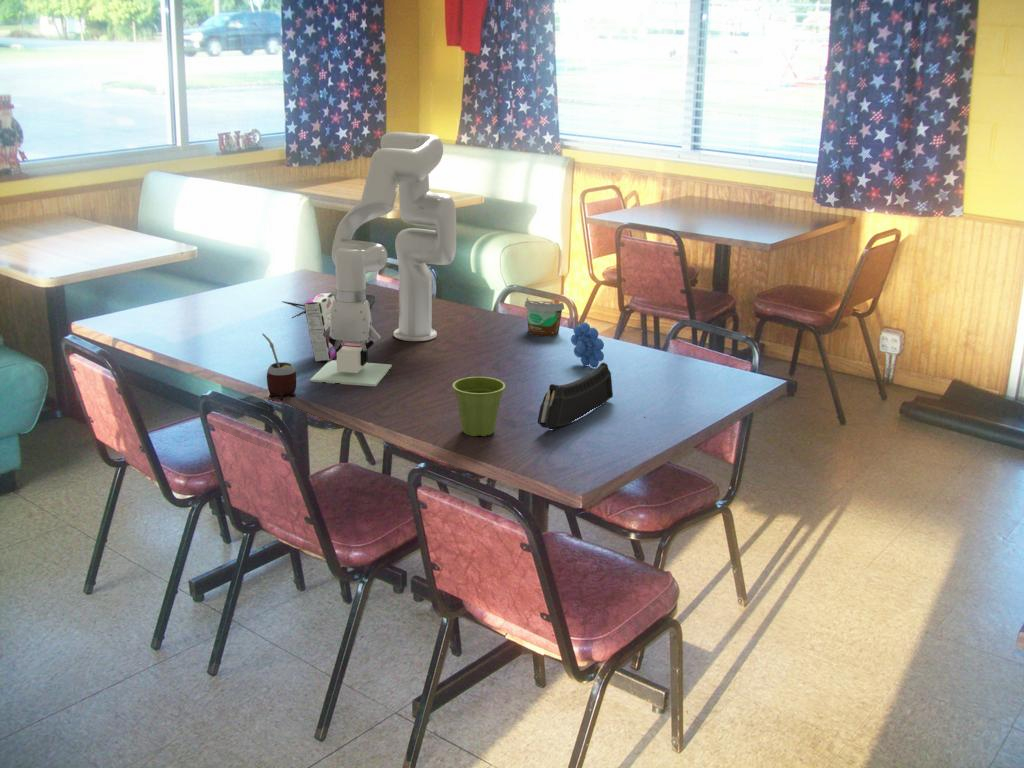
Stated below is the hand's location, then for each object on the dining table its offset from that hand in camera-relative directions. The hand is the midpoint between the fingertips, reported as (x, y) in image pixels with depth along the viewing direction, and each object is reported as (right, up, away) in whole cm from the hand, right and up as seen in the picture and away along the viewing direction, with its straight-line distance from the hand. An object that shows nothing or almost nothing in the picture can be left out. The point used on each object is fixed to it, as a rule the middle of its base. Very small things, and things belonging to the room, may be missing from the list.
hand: (351, 362), depth 283 cm
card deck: (0, -1, 0) cm, 1 cm away
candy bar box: (-8, +2, +14) cm, 17 cm away
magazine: (+57, -14, -24) cm, 63 cm away
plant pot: (+34, -17, -36) cm, 52 cm away
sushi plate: (-18, +18, +64) cm, 69 cm away
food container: (+50, +9, +43) cm, 66 cm away
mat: (0, -3, +1) cm, 3 cm away
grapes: (+61, -1, +14) cm, 63 cm away
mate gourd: (-15, -9, -17) cm, 24 cm away
